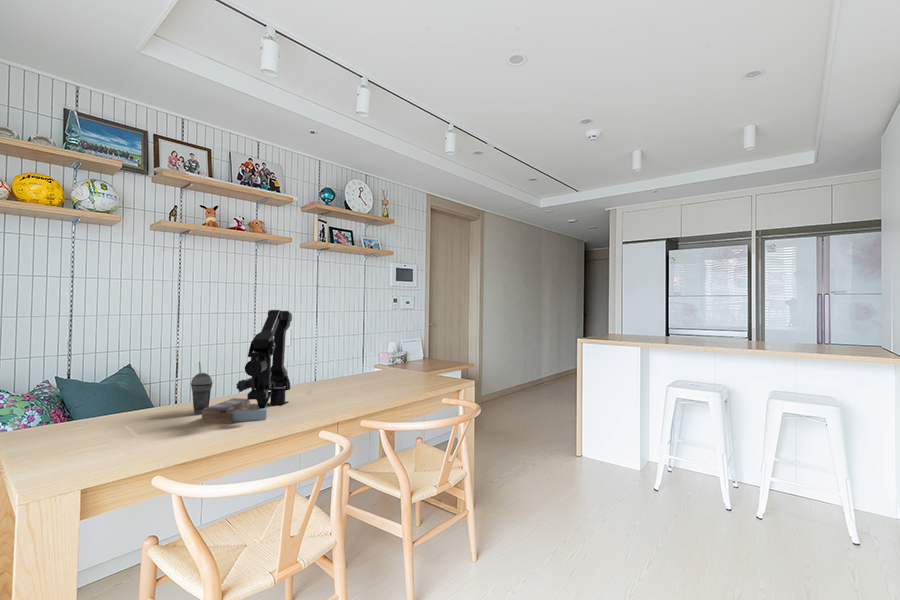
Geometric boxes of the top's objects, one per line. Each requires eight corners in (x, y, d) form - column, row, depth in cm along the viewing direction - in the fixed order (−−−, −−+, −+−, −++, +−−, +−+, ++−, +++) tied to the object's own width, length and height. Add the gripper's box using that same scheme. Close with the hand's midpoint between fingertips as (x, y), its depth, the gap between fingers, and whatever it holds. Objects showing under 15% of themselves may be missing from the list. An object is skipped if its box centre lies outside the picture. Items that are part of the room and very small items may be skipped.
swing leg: (266, 417, 159) (267, 408, 159) (266, 419, 156) (266, 410, 156) (226, 419, 155) (226, 410, 155) (224, 422, 152) (225, 412, 152)
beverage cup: (201, 417, 158) (203, 363, 158) (185, 415, 160) (186, 362, 160) (216, 412, 166) (217, 360, 166) (200, 410, 167) (201, 359, 167)
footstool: (233, 409, 170) (233, 397, 170) (259, 411, 168) (259, 399, 168) (201, 422, 152) (201, 408, 152) (230, 424, 150) (230, 410, 150)
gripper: (245, 366, 166) (244, 406, 166) (231, 376, 148) (231, 421, 148) (275, 366, 169) (275, 405, 169) (266, 376, 150) (265, 419, 151)
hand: (261, 412), depth 159 cm, fingers closed
